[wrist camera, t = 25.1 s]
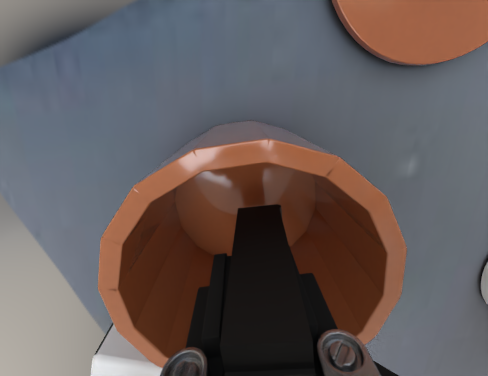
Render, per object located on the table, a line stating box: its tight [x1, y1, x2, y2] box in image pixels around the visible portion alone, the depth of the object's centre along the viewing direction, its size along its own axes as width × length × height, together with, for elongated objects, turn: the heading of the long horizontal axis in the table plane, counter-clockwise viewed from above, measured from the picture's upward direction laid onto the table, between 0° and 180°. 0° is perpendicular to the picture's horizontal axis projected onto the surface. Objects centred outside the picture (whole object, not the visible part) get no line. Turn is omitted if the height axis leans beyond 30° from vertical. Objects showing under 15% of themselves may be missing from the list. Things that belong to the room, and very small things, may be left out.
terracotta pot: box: [98, 120, 407, 368], centre depth 14 cm, size 12×12×10 cm
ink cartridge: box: [220, 204, 316, 376], centre depth 10 cm, size 5×2×8 cm, turn 7°
